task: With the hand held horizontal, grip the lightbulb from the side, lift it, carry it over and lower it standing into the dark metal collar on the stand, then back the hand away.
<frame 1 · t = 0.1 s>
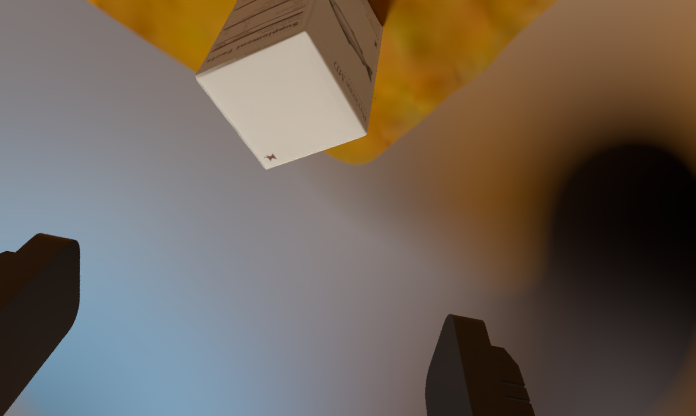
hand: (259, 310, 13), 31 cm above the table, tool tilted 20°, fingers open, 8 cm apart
supplement box: (317, 2, 41), on the table
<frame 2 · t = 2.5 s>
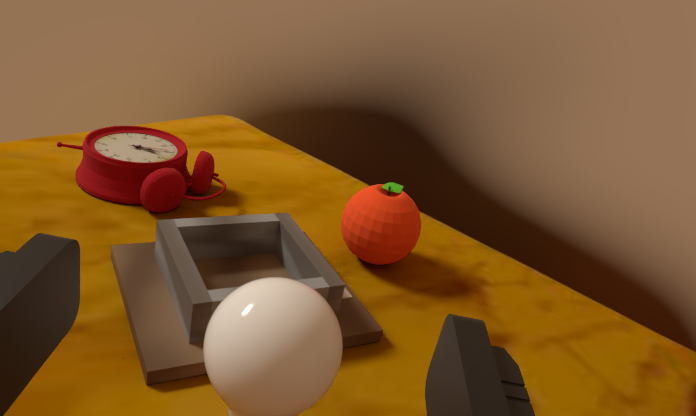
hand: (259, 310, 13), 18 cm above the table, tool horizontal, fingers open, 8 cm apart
alarm clock: (149, 190, 56), on the table
socket stand: (241, 297, 43), on the table
clementine: (373, 257, 52), on the table
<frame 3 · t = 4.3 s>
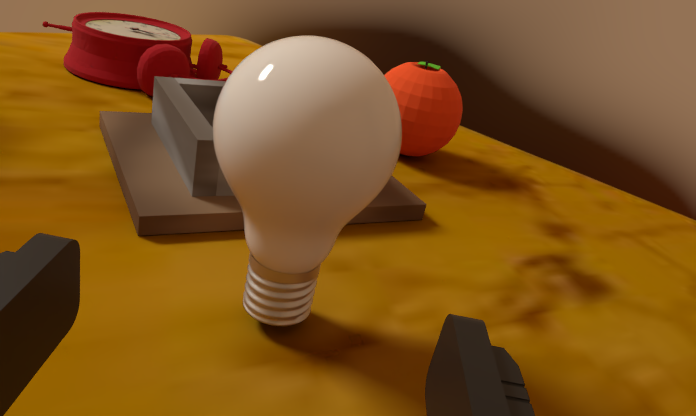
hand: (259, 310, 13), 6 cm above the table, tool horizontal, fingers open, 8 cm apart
lightbulb: (273, 322, 23), on the table
alarm clock: (147, 82, 49), on the table
socket stand: (254, 170, 36), on the table
clementine: (405, 153, 45), on the table
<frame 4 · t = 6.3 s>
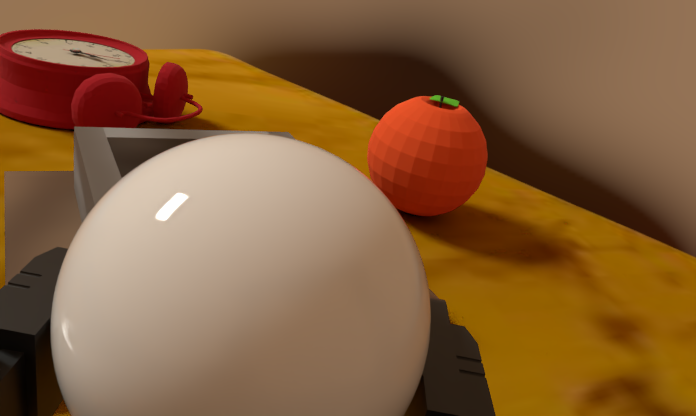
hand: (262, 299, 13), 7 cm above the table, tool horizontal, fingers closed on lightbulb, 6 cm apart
alarm clock: (94, 117, 40), on the table
socket stand: (211, 254, 26), on the table
clementine: (413, 209, 36), on the table
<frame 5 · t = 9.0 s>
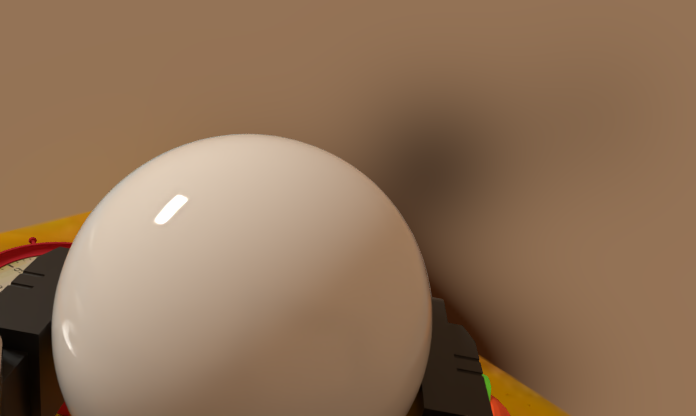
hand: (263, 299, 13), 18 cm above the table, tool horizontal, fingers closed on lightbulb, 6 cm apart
alarm clock: (74, 352, 35), on the table
when the fingers open (10 cm above the table, at t = 11.7 s): lightbulb drops 2 cm, resting on socket stand.
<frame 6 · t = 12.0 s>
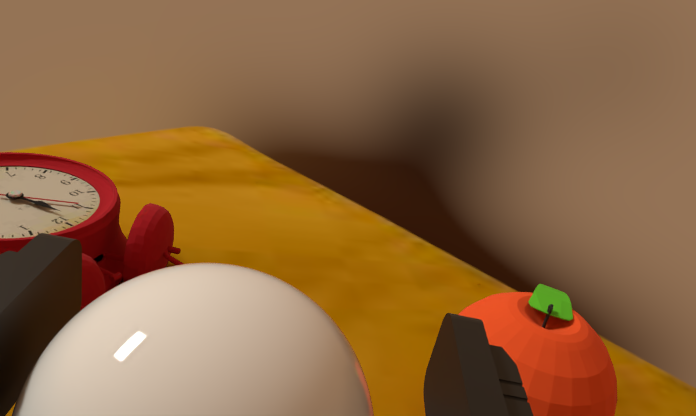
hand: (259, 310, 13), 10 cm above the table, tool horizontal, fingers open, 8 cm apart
alarm clock: (43, 280, 29), on the table
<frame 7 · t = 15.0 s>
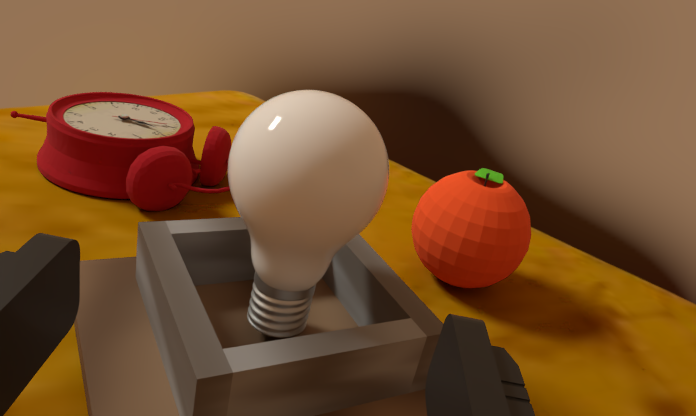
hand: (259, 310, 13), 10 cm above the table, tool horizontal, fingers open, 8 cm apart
lightbulb: (273, 334, 26), point 1 cm above the table, touching socket stand
alarm clock: (140, 180, 40), on the table
socket stand: (272, 346, 27), on the table
clementine: (454, 277, 37), on the table
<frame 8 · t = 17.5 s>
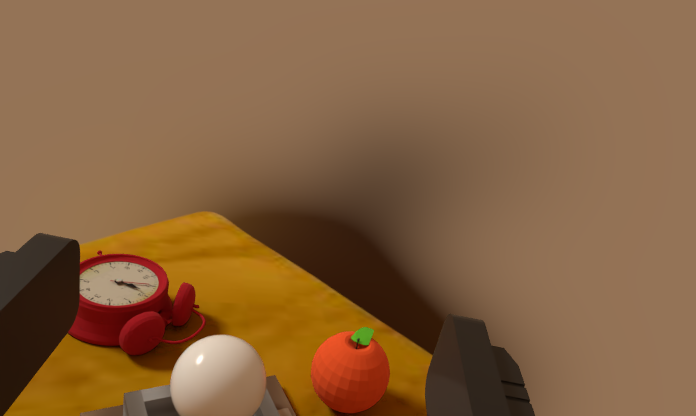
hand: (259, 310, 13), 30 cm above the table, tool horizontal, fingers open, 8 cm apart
alarm clock: (130, 321, 57), on the table
clementine: (344, 398, 53), on the table
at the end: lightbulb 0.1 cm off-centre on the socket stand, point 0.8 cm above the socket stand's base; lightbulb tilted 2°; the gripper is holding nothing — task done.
